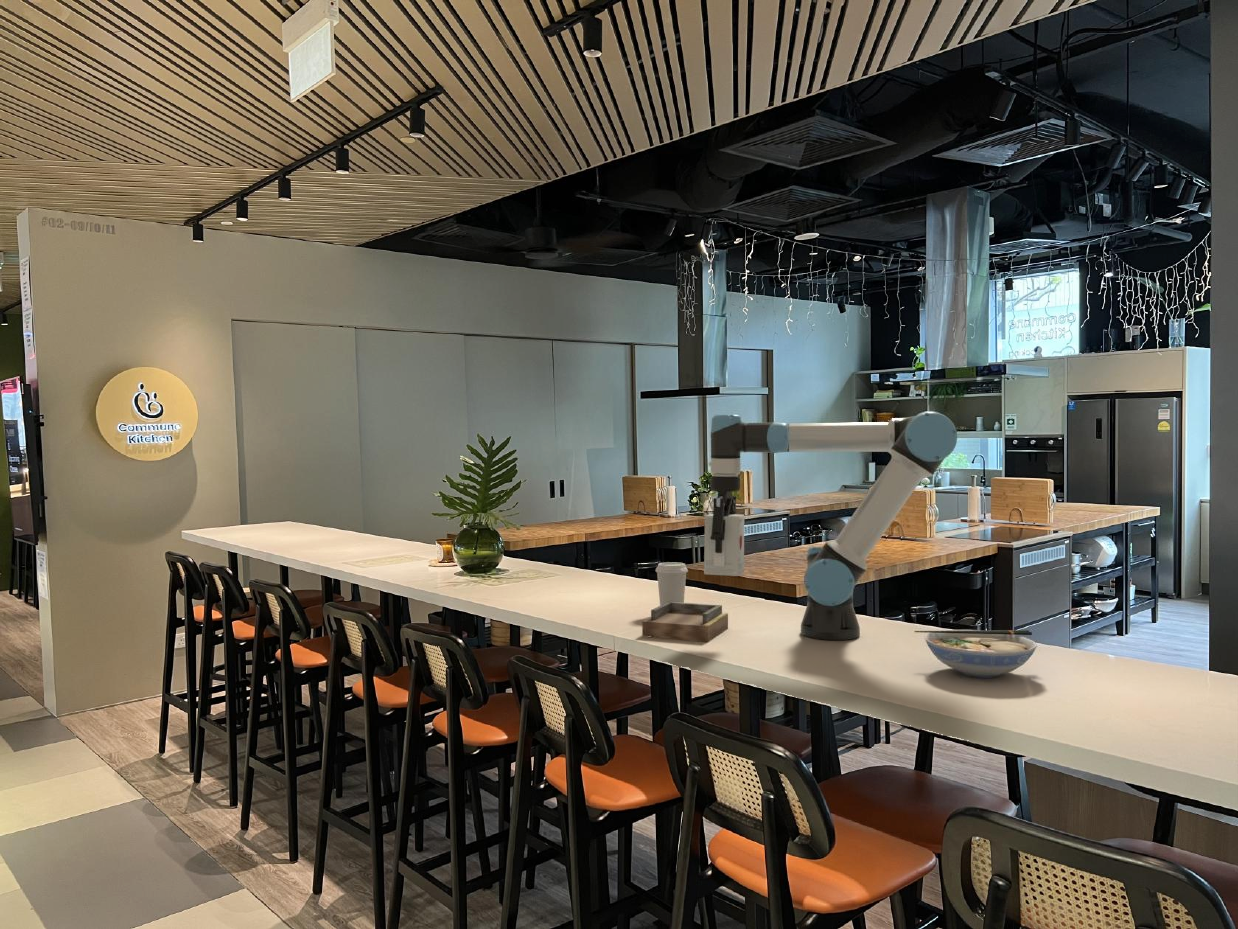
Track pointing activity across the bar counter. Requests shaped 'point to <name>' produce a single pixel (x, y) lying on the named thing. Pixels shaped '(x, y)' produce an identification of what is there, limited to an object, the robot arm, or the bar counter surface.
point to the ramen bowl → (981, 650)
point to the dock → (686, 622)
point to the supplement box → (726, 546)
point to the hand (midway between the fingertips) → (724, 563)
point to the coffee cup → (671, 582)
